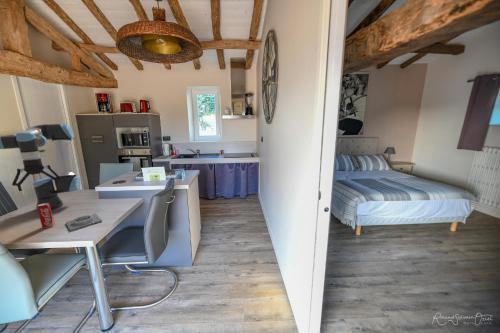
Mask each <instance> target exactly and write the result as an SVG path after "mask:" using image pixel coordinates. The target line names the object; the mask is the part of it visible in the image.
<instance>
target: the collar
mask: <svg viewBox="0 0 500 333" xmlns="http://www.w3.org/2000/svg"><path fill="white" fill-rule="evenodd" d="M87 218H89V219H87ZM83 219H87V220H84V221H80V220H83ZM72 220H73V224H74V225H83V224H86V223H89V222H91V221H93V220H94V216H93V215H92V214H85V215H82V216H81V215H80V216H79V217H76V218H74V219H72Z"/></svg>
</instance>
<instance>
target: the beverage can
mask: <svg viewBox="0 0 500 333" xmlns="http://www.w3.org/2000/svg"><path fill="white" fill-rule="evenodd" d="M37 209H38V211H37V213H38V217H39V220H40V224H41V228H42V229H48V228H51V227H53V226H55V221H54V220H55V219H54V215H53V212H52V209H51V207H50V204H49V203H44V204H40V205H38V206H37ZM37 209H36V210H37Z"/></svg>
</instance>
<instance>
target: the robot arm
mask: <svg viewBox="0 0 500 333" xmlns="http://www.w3.org/2000/svg"><path fill="white" fill-rule="evenodd" d="M74 138H75V133H74V131H73V128H72V127H71V125H69V124H67V123H66V124H65V123H55V124H54V123H53V124H47V123H45V124H39V125H35V126H30V127H28V128H26V129H25V130H22V131H18V132H16V133H12V134H8V135H2V136H1V135H0V150H7V149H8V150H9V149H19V152H20V156H21V159H22V163H23V166H24V167H23V168H17V169H16V171H17V172H16V174H15V176H14V179H13V181H12V184H11V185H12V186H13V187H17V189H18V192H22V196H23V197H26V193H25V189H24V187H23V186H24V185H23V183H24V181H26V179H27V178H28V177H29V176H30V175H31V176H32V175H40V174H43V175H45V176H47V177H45V178H41V179H36V180H35V181H34V182H33V189H34V193H35V196H36V197H35V198H36V205H35V208H36V211H37V212H38V209H37V206H38V205H40V204H44V203H49V204H50V207H51V210H54V209H58V208H60V207H62V206H63V205H64V202H63V200H62V199H61V198H60V197H59V194H63V193H72V192H76V191H78V190H79V189H80V186H81V178H80V177H79V176H78V175H77V174H76V173H75V172H74V166H73V160H72V152H71V145H70V143H71V142H72V139H74ZM48 140H51V142H52V143H54V147H55V154H56V161H57V169H58V173H57V172H56V171H54V170H53V169H52V168H51V165H50V164H47V165H46V164H45V165H43V163H42V161H43V160H42V159H41V154H40V150H39V148H41V147H44V146H46V144H47V143H48ZM45 169H47V170H49V171H50V172H51V173H52V174H53V175H51V174H50V173H48V172H47V171H46V170H45ZM23 171H24V172H25V174H24V176H23V177H21V179H20V180H19V177H20V176H21V173H23ZM18 180H19V181H18ZM17 181H18V182H17Z"/></svg>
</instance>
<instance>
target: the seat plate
mask: <svg viewBox="0 0 500 333" xmlns="http://www.w3.org/2000/svg"><path fill="white" fill-rule="evenodd" d="M91 215H93V216H94V220H93V221H91V222H89V223H86V224H83V225H74V224H73V220H74V219H71V220H68V221H65V224H66V226H67V228H68V230H69V232H73V231H77V230H80V229H83V228H86V227H89V226H93V225H96V224H99V223H102V222H103V220H102V219H101V218H100V217H99V215H98V214H97V213H93V214H91ZM87 219H89V218H87ZM87 219H83V220H80V221H84V220H87Z"/></svg>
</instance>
